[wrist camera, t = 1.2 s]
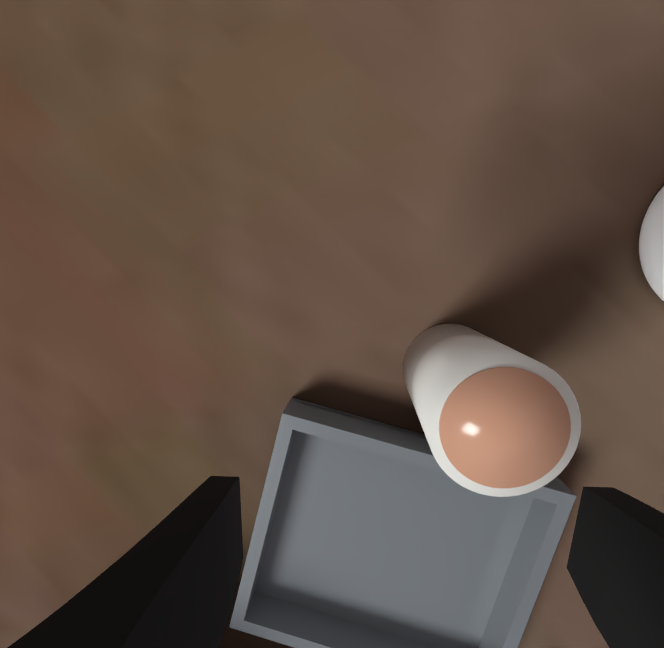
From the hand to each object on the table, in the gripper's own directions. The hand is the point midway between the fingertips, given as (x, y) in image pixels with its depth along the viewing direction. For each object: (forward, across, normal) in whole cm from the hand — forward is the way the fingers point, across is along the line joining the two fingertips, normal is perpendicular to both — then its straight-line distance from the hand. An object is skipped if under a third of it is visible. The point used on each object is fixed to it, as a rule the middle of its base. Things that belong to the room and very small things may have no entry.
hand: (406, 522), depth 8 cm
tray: (+12, -2, +11) cm, 16 cm away
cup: (+13, -5, +1) cm, 14 cm away
